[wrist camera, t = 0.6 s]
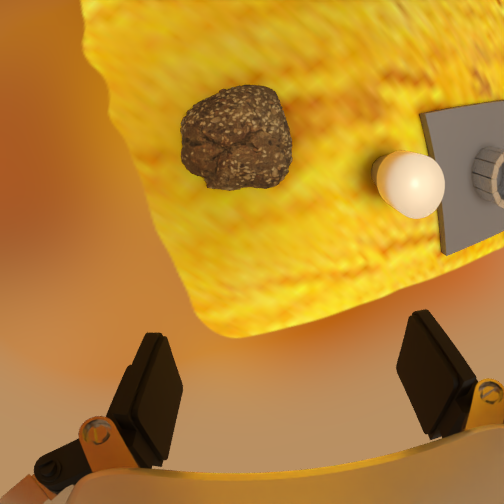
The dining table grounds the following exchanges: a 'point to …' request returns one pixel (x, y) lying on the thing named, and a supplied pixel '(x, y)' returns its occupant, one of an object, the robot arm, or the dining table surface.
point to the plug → (409, 182)
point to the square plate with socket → (468, 171)
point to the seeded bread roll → (237, 139)
